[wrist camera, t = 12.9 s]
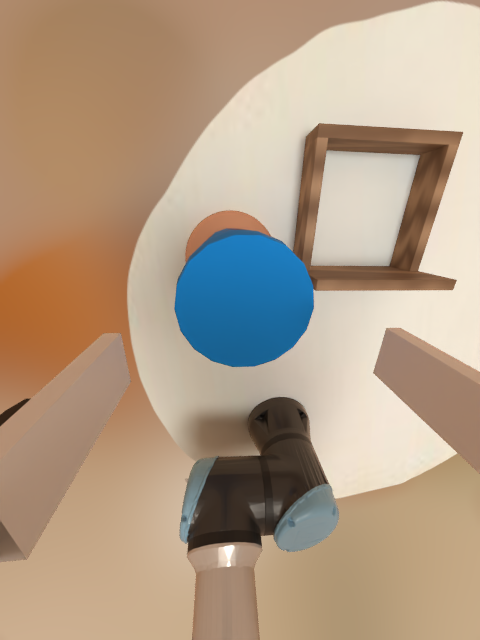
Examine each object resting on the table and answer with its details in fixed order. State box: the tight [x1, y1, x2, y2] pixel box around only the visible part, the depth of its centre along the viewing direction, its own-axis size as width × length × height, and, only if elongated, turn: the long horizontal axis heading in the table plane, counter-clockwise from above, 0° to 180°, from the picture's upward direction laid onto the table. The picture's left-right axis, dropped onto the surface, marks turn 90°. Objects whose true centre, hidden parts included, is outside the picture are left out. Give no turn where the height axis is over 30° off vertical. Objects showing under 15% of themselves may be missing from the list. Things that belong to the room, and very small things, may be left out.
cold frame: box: [294, 123, 463, 291], centre depth 34 cm, size 21×21×12 cm
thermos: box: [175, 228, 314, 367], centre depth 28 cm, size 11×11×25 cm
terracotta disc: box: [186, 211, 270, 262], centre depth 40 cm, size 16×16×1 cm
